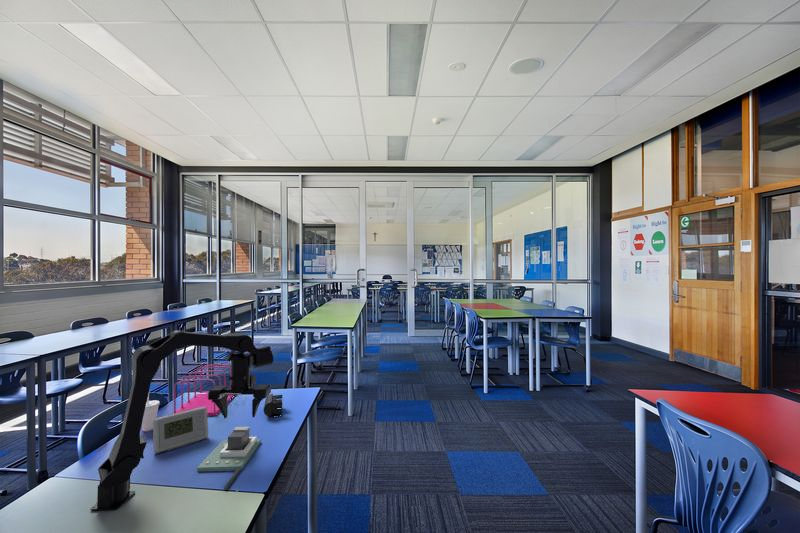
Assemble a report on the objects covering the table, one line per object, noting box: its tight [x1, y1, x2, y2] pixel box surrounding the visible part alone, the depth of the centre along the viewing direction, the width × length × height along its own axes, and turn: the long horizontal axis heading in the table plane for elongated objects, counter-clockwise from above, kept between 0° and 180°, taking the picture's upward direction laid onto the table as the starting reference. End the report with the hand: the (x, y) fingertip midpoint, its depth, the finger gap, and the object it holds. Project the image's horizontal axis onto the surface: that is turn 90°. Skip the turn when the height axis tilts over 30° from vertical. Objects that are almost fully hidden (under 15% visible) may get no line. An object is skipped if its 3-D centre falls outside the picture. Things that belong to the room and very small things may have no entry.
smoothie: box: [141, 393, 160, 432], centre depth 122 cm, size 6×6×14 cm
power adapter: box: [263, 393, 283, 418], centre depth 137 cm, size 10×7×7 cm
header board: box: [196, 436, 262, 473], centre depth 105 cm, size 16×13×3 cm
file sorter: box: [171, 363, 235, 417], centre depth 145 cm, size 17×25×16 cm
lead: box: [223, 467, 242, 490], centre depth 94 cm, size 12×1×1 cm, turn 4°
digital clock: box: [152, 407, 209, 454], centre depth 112 cm, size 16×9×11 cm, turn 122°
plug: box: [227, 426, 250, 451], centre depth 107 cm, size 6×4×6 cm
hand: (239, 417), depth 107 cm, fingers open, 9 cm apart
